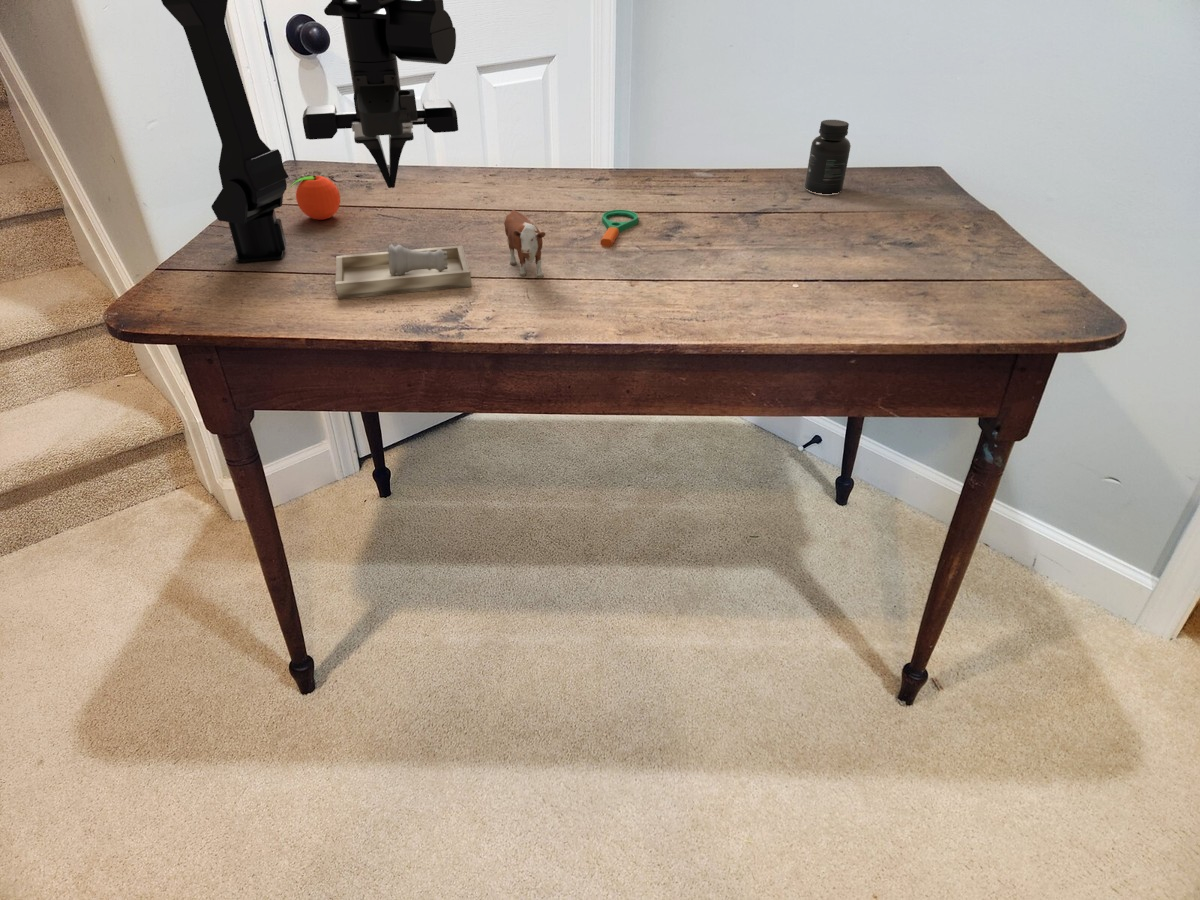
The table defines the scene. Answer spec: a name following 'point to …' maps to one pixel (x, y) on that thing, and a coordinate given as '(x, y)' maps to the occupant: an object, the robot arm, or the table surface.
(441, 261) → the rook chess piece
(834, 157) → the supplement bottle
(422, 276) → the tray
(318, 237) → the table surface
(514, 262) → the bull figurine
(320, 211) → the clementine
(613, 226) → the magnifying glass
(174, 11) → the robot arm
